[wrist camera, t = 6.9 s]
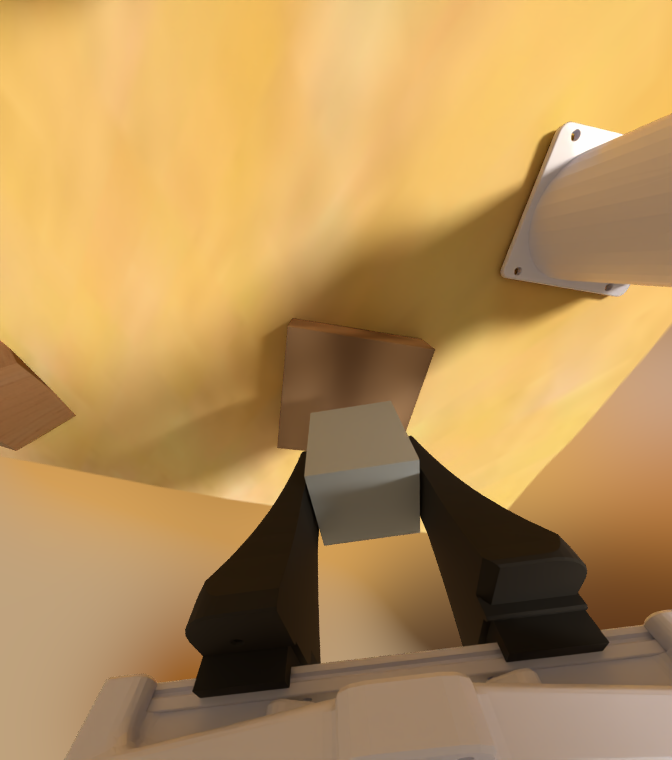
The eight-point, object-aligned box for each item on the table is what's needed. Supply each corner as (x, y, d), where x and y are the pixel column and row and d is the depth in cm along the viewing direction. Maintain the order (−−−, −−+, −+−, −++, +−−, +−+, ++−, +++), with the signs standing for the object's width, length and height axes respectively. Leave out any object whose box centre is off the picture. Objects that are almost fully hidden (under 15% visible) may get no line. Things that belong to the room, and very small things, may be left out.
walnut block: (419, 337, 19) (435, 349, 17) (387, 437, 23) (395, 459, 21) (293, 317, 18) (287, 326, 16) (283, 425, 22) (277, 447, 20)
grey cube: (390, 400, 13) (419, 459, 9) (394, 461, 15) (419, 532, 11) (310, 413, 14) (304, 476, 9) (324, 471, 15) (324, 545, 11)
